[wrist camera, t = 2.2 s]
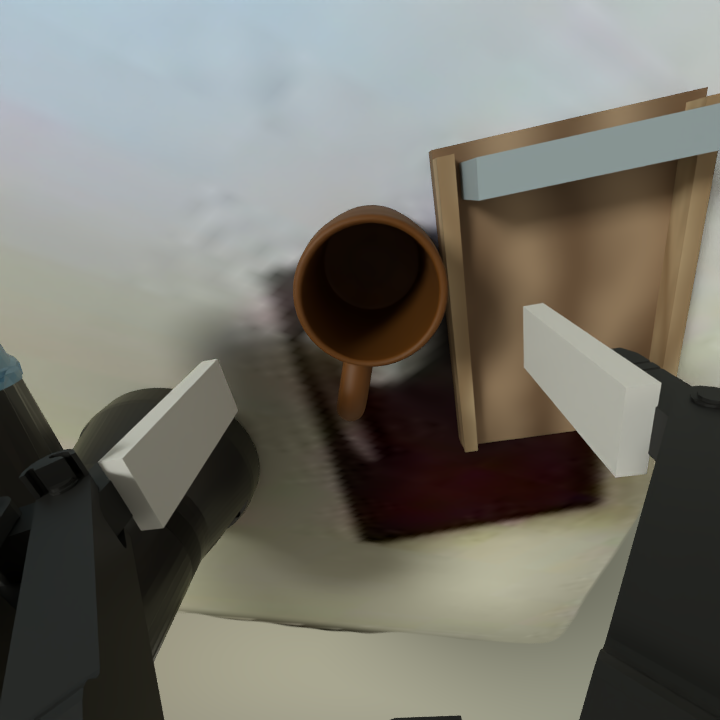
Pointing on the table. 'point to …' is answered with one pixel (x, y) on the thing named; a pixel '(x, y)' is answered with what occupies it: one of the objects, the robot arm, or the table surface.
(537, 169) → the bar
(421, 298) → the mug
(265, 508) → the table surface
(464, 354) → the housing base
